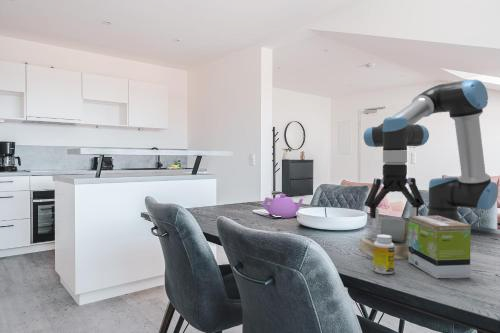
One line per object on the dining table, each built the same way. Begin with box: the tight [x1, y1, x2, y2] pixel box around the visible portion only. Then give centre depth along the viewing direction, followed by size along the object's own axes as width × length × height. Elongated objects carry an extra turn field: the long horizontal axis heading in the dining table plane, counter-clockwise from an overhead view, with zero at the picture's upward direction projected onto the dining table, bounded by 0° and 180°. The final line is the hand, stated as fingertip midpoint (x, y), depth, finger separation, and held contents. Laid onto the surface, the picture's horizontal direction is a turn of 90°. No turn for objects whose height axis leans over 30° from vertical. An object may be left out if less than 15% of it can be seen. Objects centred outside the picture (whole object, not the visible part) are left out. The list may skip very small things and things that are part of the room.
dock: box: [359, 236, 409, 260], centre depth 122 cm, size 18×12×4 cm, turn 99°
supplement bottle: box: [372, 234, 395, 275], centre depth 103 cm, size 6×6×10 cm
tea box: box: [408, 215, 472, 279], centre depth 104 cm, size 15×10×15 cm, turn 5°
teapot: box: [262, 193, 304, 219], centre depth 198 cm, size 22×16×12 cm
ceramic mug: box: [380, 216, 409, 242], centre depth 123 cm, size 11×8×8 cm
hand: (394, 227), depth 122 cm, fingers open, 13 cm apart
